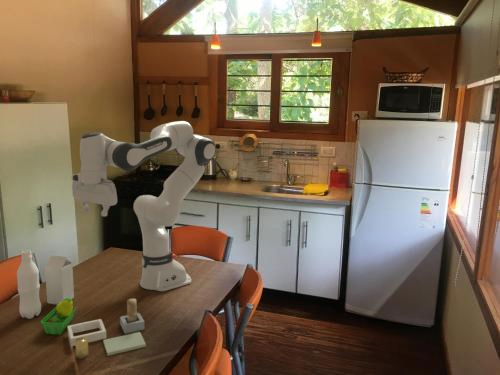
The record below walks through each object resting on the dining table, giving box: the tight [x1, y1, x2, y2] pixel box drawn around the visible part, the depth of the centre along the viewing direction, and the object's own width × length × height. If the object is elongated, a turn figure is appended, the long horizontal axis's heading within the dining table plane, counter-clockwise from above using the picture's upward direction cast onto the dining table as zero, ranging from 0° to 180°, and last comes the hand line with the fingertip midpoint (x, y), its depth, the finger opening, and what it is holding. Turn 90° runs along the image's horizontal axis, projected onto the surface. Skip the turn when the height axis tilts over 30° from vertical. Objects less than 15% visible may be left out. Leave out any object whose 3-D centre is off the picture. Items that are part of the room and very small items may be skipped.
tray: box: [67, 318, 107, 350], centre depth 142 cm, size 11×9×4 cm
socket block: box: [119, 312, 146, 335], centre depth 149 cm, size 7×7×4 cm
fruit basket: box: [40, 298, 77, 335], centre depth 147 cm, size 11×9×11 cm
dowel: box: [126, 298, 138, 323], centre depth 148 cm, size 3×3×10 cm
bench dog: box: [75, 337, 89, 359], centre depth 131 cm, size 4×4×6 cm
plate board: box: [102, 331, 147, 357], centre depth 138 cm, size 12×8×2 cm, turn 118°
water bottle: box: [16, 249, 42, 320], centre depth 154 cm, size 7×7×25 cm
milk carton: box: [44, 254, 75, 306], centre depth 166 cm, size 7×7×19 cm
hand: (95, 213), depth 156 cm, fingers open, 8 cm apart
